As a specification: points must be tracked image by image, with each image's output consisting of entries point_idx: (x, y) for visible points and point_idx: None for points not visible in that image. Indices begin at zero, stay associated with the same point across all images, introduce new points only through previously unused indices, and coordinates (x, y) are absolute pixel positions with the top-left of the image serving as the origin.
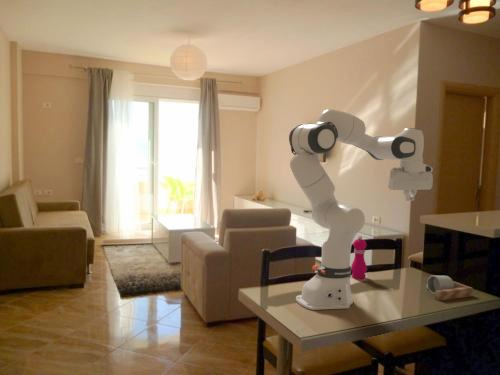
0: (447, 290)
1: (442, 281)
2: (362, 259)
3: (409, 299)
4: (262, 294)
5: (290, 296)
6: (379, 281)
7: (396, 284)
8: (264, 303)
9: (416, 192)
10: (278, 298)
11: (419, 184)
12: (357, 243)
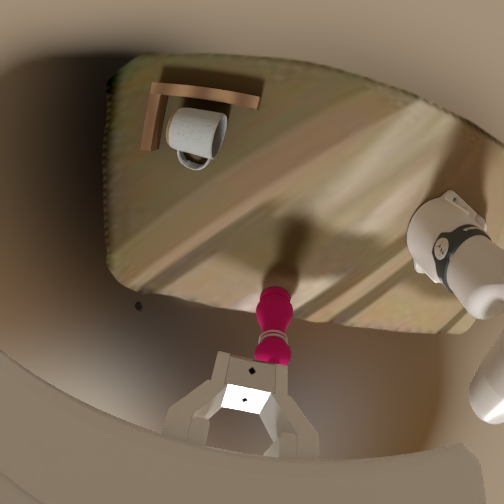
0: (226, 94)
1: (210, 115)
2: (275, 319)
3: (313, 141)
4: None
5: None
6: (258, 258)
7: (241, 224)
8: None
9: (173, 409)
10: None
11: (119, 486)
12: (289, 356)
